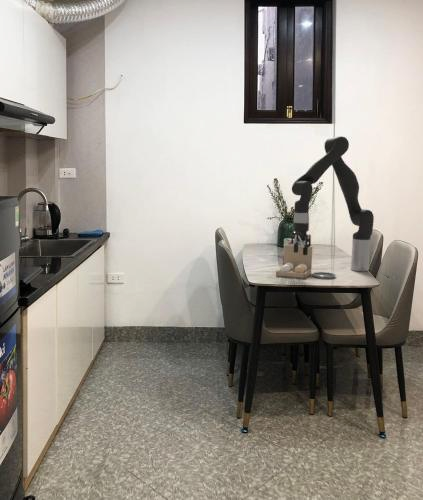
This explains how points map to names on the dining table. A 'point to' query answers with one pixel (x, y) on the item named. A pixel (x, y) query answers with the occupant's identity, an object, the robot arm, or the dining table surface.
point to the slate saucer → (324, 275)
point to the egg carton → (296, 262)
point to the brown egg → (299, 269)
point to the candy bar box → (288, 242)
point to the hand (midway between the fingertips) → (300, 253)
